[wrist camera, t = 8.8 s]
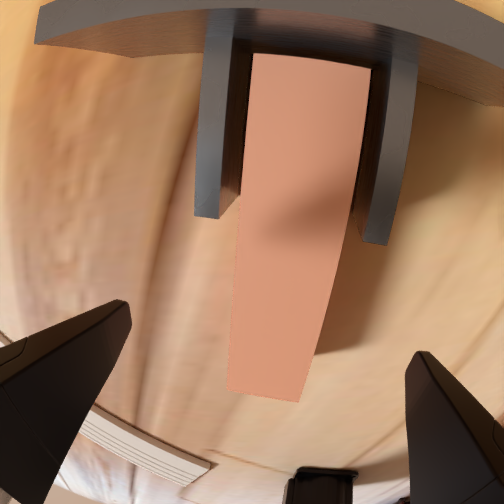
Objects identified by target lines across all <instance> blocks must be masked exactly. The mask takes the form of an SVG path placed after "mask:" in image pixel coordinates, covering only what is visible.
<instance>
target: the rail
mask: <svg viewBox="0 0 504 504" xmlns="http://www.w3.org/2000/svg"><path fill="white" fill-rule="evenodd" d="M370 73H371V69H368V68H363V67H358V66H353V65H348V64H342V63H337V62H331V61H324V60H317V59H310V58H302V57H294V56H284V55H273V54H259V53H254V56H253V66H252V76H251V86H250V96H249V107H248V117H247V128H246V139H245V150H244V161H243V173H242V185H241V197H240V209H239V221H238V234H237V246H236V259H235V273H234V286H233V300H232V315H231V329H230V344H229V360H228V376H227V390H230V391H235V392H240V393H245V394H250V395H255V396H261V397H266V398H272V399H278V400H285V401H292V402H299V400H300V397H301V394H302V390H303V387H304V384H305V381H306V378H307V375H308V372H309V369H310V365H311V362H312V359H313V356H314V352H315V349H316V345H317V342H318V339H319V335H320V332H321V328H322V324H323V321H324V317H325V314H326V310H327V306H328V302H329V299H330V295H331V291H332V287H333V283H334V279H335V275H336V271H337V266H338V262H339V258H340V254H341V249H342V245H343V240H344V236H345V231H346V226H347V222H348V217H349V212H350V207H351V202H352V196H353V191H354V186H355V180H356V174H357V169H358V163H359V157H360V150H361V144H362V137H363V131H364V124H365V116H366V109H367V100H368V92H369V83H370Z"/></svg>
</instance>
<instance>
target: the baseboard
mask: <svg viewBox="0 0 504 504" xmlns="http://www.w3.org/2000/svg"><path fill="white" fill-rule="evenodd" d="M9 344H11V343H10V342H9V341H8V340H7V339H6V338H5V337H4V336H3V335H2V334H0V347H3V346H6V345H9ZM79 433H81V434H82V435H84V436H85V437H87V438H89V439H90V440H92V441H94V442H95V443H97V444H99V445H100V446H102V447H104V448H105V449H107V450H109V451H111V452H113V453H114V454H116V455H118V456H120V457H122V458H124V459H125V460H127V461H129V462H131V463H133V464H135V465H137V466H139V467H141V468H143V469H145V470H147V471H150V472H152V473H154V474H156V475H158V476H160V477H163V478H165V479H167V480H170V481H172V482H174V483H177V484H179V485H182V486H184V487H186V486H187V485H188V484H190V483H191V482H192V481H194V480H195V479H196V478H198V477H199V476H200V475H202V474H204V473H205V472H207V471H208V470H209V468H210V465H211V464H210V463H208V462H205V461H203V460H201V459H198V458H196V457H193V456H191V455H189V454H186V453H184V452H182V451H180V450H177V449H175V448H173V447H171V446H169V445H166V444H164V443H162V442H160V441H158V440H156V439H154V438H152V437H150V436H148V435H146V434H144V433H142V432H140V431H139V430H137V429H135V428H133V427H131V426H129V425H127V424H126V423H124V422H122V421H120V420H119V419H117V418H115V417H113V416H112V415H110V414H108V413H107V412H105V411H103V410H102V409H100V408H98V407H97V406H95V405H94V404H93V406H92V407H91V409H90V411H89V413H88V415H87V417H86V418H85V420H84V422H83V424H82V426H81V428H80V430H79Z"/></svg>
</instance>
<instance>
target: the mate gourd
mask: <svg viewBox="0 0 504 504" xmlns="http://www.w3.org/2000/svg"><path fill="white" fill-rule="evenodd" d="M405 500H406V499H405V497H404V498H400V499H399V501H398V502H397V504H410V502H405ZM404 502H405V503H404Z"/></svg>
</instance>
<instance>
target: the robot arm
mask: <svg viewBox="0 0 504 504" xmlns="http://www.w3.org/2000/svg"><path fill="white" fill-rule="evenodd" d="M131 327H132V319H131V313H130V307H129V304H128V302H126V301H122V300H118V299H116V300H113V301H111V302H108V303H106V304H104V305H101V306H99V307H97V308H94V309H92V310H89V311H87V312H85V313H82V314H80V315H77V316H75V317H73V318H70V319H68V320H66V321H63V322H61V323H59V324H56V325H54V326H51V327H49V328H47V329H44V330H42V331H40V332H37V333H35V334H33V335H30V336H29V337H25V338H23V339H21V340H18V341H16V342H14V343H11V344H9V345H6V346H3V347H0V504H9V503H10V501H11V499H12V498H14V499H15V500H17V501H18V502H19V503H21V504H43V503H44V501H45V499H46V497H47V494H48V492H49V490H50V488H51V486H52V484H53V482H54V480H55V478H56V476H57V474H58V471H59V469H60V467H61V465H62V463H63V461H64V459H65V457H66V455H67V453H68V451H69V449H70V447H71V445H72V443H73V441H74V439H75V437H76V435H77V434H78V432H79V430H80V428H81V426H82V424H83V422H84V420H85V418H86V417H87V415H88V413H89V411H90V409H91V407H92V406H93V404H94V402H95V400H96V398H97V396H98V395H99V393H100V391H101V389H102V387H103V386H104V384H105V382H106V380H107V379H108V377H109V375H110V373H111V372H112V370H113V368H114V366H115V364H116V362H117V360H118V357H119V355H120V353H121V350H122V348H123V346H124V344H125V341H126V339H127V337H128V335H129V332H130V330H131ZM405 415H406V429H407V440H408V453H409V471H410V504H504V428H503V427H502V426H501V425H500V424H499V423H498V422H497V421H496V420H494V417H493V416H492V415H491V414H490V413H489V412H488V411H487V410H486V409H485V408H484V407H483V406H482V405H481V404H480V403H479V402H478V401H477V400H476V398H475V397H474V396H473V395H472V394H471V393H470V392H469V391H468V390H467V389H466V388H465V387H464V386H463V385H462V384H461V383H460V382H459V381H458V380H457V379H456V378H455V377H454V376H453V375H452V374H451V373H450V372H449V371H448V370H447V369H446V368H445V367H444V366H443V365H442V364H441V363H440V362H439V361H438V360H437V359H436V358H435V357H434V356H433V355H432V354H431V353H430V352H428V351H417V352H416V353H415V354H414V356H413V358H412V360H411V362H410V363H409V365H408V367H407V369H406V372H405ZM358 476H359V473H358V472H349V471H328V470H315V469H304V468H299V469H297V470H296V472H295V474H294V476H293V478H290V479H289V480H288V482H287V484H286V485H285V489H284V495H283V501H282V504H352V501H353V482H354V481H355V480H356V479H357V478H358Z"/></svg>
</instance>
